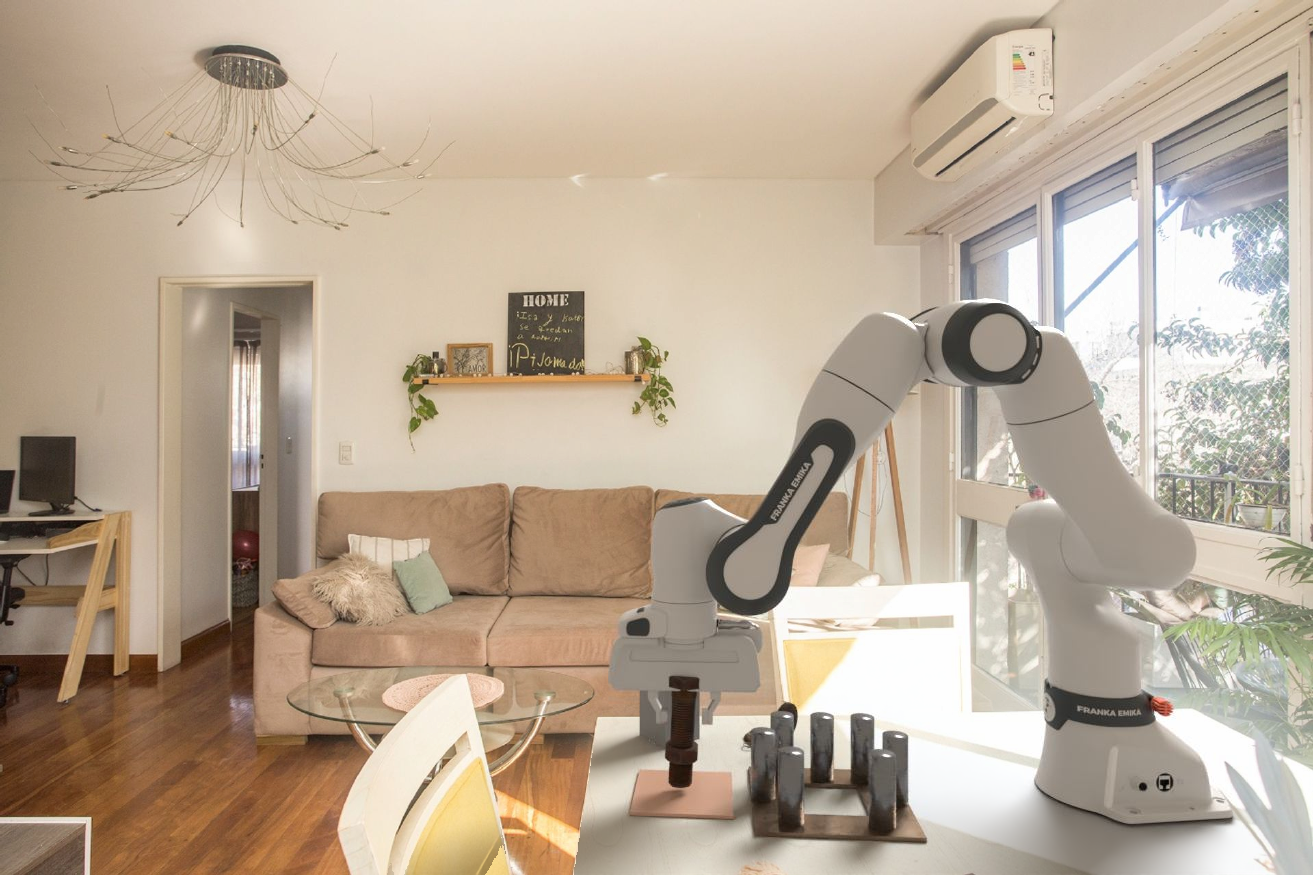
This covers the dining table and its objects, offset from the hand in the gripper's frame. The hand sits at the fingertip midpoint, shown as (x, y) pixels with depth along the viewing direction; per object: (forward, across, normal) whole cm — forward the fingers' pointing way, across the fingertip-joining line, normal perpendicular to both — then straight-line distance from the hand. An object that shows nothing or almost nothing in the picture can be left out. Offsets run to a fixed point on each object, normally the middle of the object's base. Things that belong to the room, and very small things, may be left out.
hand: (684, 722), depth 105 cm
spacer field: (+10, -19, +1) cm, 21 cm away
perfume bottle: (+10, +3, -19) cm, 22 cm away
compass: (+10, -12, -18) cm, 23 cm away
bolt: (+8, +1, 0) cm, 8 cm away
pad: (+10, 0, 0) cm, 10 cm away
